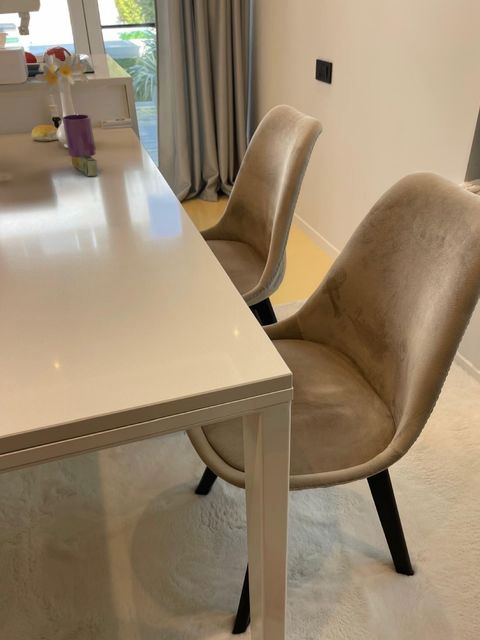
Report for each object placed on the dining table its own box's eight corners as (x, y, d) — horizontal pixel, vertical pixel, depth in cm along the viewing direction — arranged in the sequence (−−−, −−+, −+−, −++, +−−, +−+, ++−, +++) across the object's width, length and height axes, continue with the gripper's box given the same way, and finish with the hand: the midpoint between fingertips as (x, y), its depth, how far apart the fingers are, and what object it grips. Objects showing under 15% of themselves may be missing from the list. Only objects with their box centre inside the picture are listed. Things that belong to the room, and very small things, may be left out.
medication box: (98, 176, 144) (97, 160, 142) (87, 176, 142) (86, 160, 140) (81, 164, 152) (80, 148, 150) (71, 164, 150) (70, 149, 148)
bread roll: (50, 134, 181) (47, 121, 178) (65, 138, 176) (63, 125, 174) (26, 138, 175) (23, 125, 173) (42, 143, 171) (39, 129, 168)
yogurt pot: (75, 159, 141) (68, 121, 136) (65, 153, 145) (58, 116, 140) (100, 154, 145) (94, 117, 139) (89, 149, 149) (83, 113, 144)
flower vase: (47, 155, 159) (26, 57, 145) (59, 139, 175) (41, 49, 160) (93, 154, 161) (77, 56, 147) (101, 138, 176) (88, 48, 162)
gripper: (-35, -37, 112) (-16, 41, 120) (38, -36, 127) (50, 33, 135) (-58, -37, 114) (-37, 40, 122) (16, -36, 129) (30, 32, 137)
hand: (9, 36), depth 129 cm, fingers open, 8 cm apart
